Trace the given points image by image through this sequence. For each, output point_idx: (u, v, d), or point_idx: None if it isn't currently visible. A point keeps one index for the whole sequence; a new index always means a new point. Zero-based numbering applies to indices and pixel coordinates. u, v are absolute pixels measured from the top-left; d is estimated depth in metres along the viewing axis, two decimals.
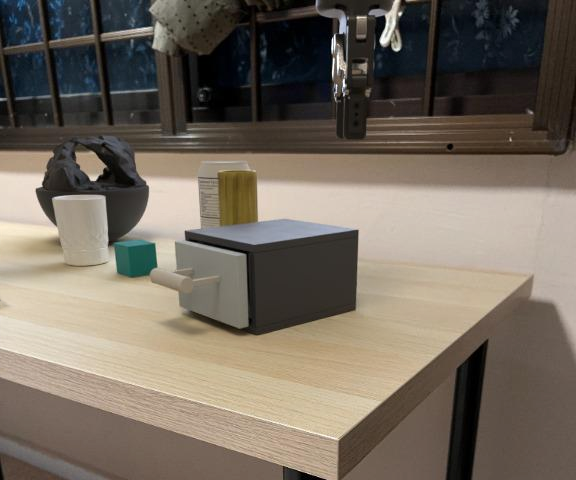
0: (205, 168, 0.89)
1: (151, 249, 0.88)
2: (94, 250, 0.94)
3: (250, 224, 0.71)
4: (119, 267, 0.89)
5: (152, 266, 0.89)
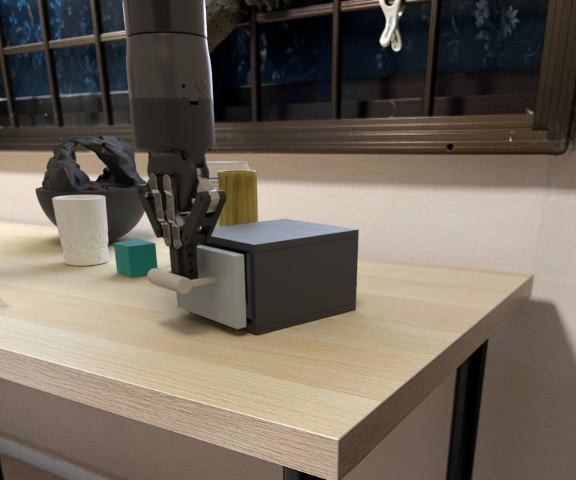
0: None
1: (151, 249, 0.88)
2: (94, 250, 0.94)
3: (250, 224, 0.71)
4: (119, 267, 0.89)
5: (152, 266, 0.89)
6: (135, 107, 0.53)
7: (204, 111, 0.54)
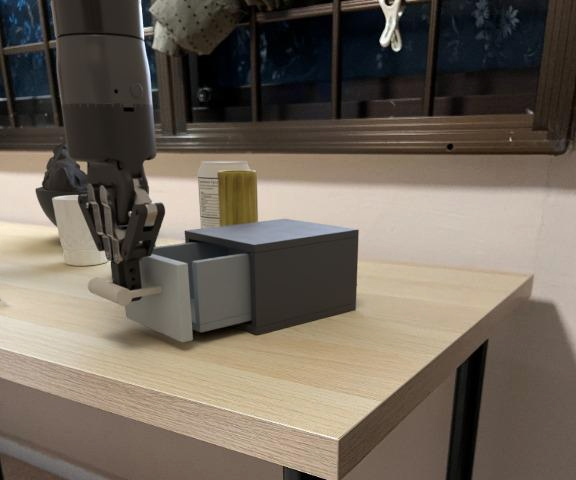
0: (205, 168, 0.89)
1: None
2: (94, 250, 0.94)
3: (250, 224, 0.71)
4: None
5: None
6: (66, 114, 0.50)
7: (140, 118, 0.50)
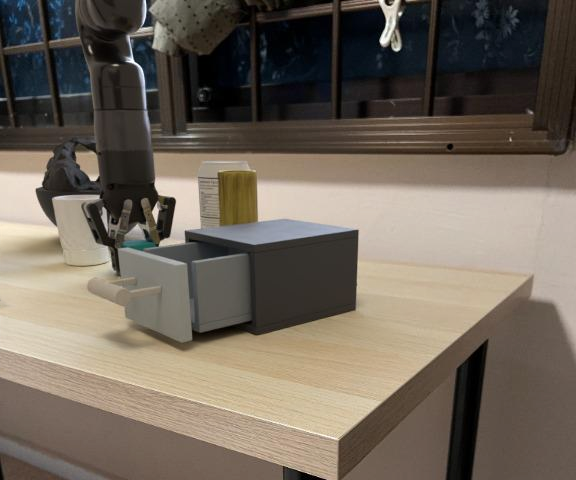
0: (206, 168, 0.89)
1: None
2: (94, 250, 0.94)
3: (250, 224, 0.71)
4: None
5: None
6: None
7: (105, 159, 0.81)
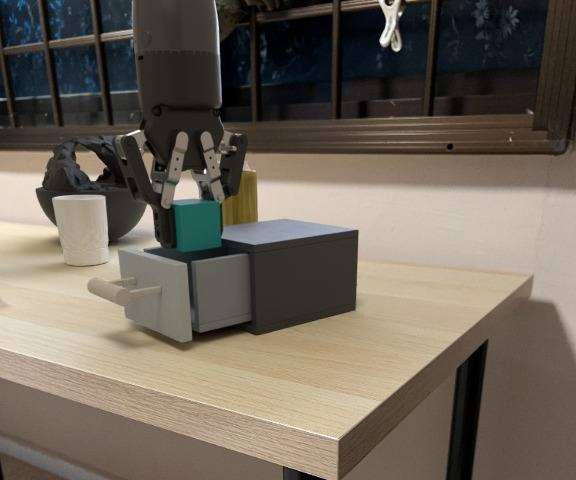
0: None
1: (213, 211, 0.59)
2: (94, 250, 0.94)
3: (250, 224, 0.71)
4: None
5: (214, 236, 0.60)
6: None
7: (150, 65, 0.52)
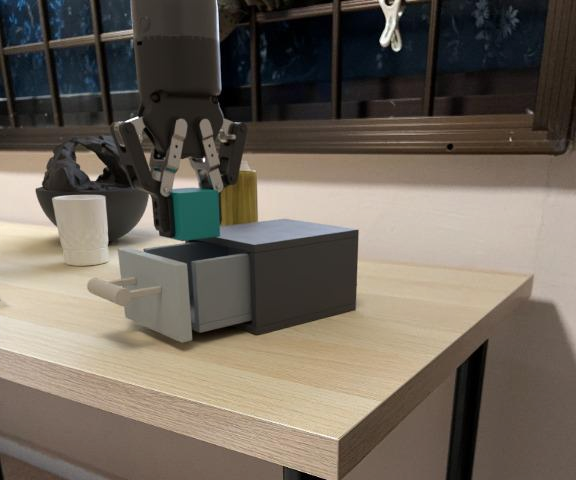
0: None
1: (212, 199, 0.59)
2: (94, 250, 0.94)
3: (250, 224, 0.71)
4: None
5: (212, 225, 0.59)
6: None
7: (148, 50, 0.52)
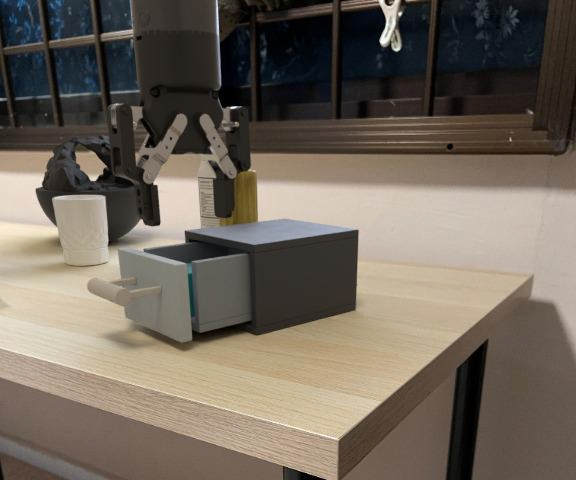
0: (205, 168, 0.89)
1: None
2: (94, 250, 0.94)
3: (250, 224, 0.71)
4: None
5: None
6: None
7: (148, 45, 0.51)
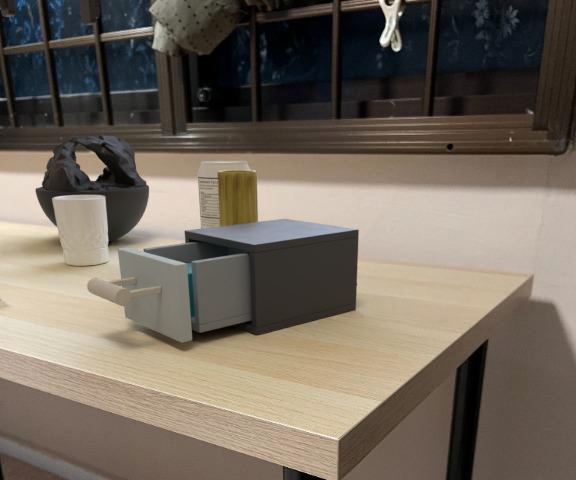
0: (205, 168, 0.89)
1: None
2: (94, 250, 0.94)
3: (250, 224, 0.71)
4: None
5: None
6: None
7: None
